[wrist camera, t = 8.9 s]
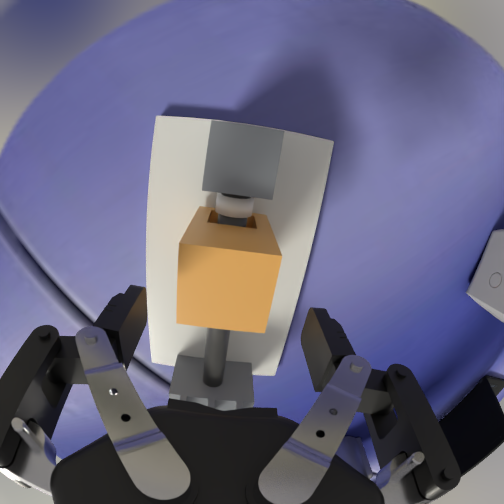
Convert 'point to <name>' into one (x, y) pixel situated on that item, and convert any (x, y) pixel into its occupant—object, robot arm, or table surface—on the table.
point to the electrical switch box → (490, 277)
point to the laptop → (475, 424)
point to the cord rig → (232, 213)
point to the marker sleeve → (227, 273)
